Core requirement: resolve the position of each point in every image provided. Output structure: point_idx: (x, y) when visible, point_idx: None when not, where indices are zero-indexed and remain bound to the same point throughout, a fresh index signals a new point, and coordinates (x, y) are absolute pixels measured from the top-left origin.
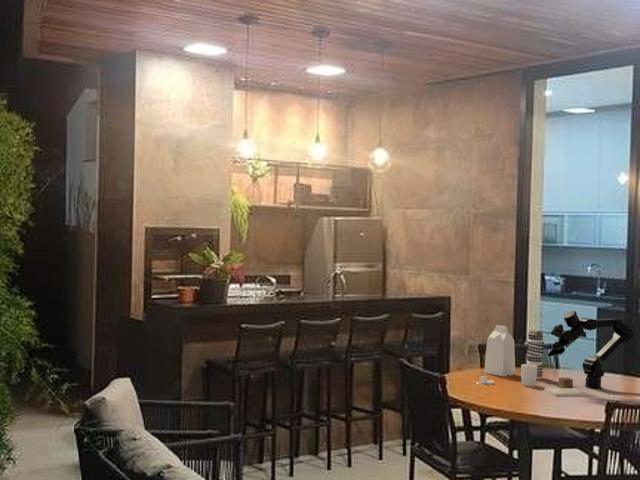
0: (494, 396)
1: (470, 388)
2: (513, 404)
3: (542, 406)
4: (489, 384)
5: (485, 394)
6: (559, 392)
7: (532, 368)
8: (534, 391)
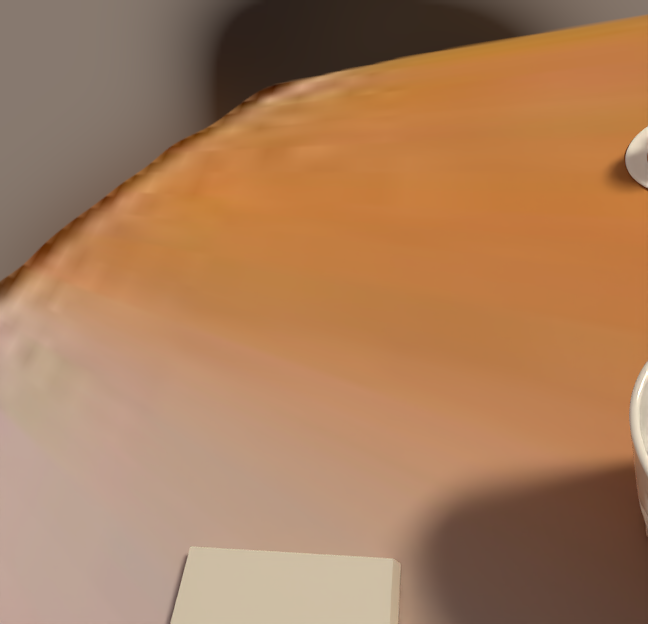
0: (283, 195)
1: (483, 103)
2: (139, 248)
3: (64, 351)
4: (645, 180)
5: (330, 164)
6: (207, 612)
7: (634, 449)
8: (379, 450)
